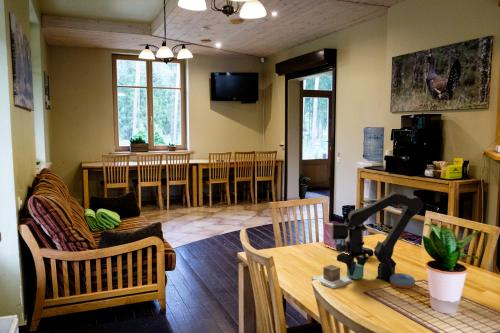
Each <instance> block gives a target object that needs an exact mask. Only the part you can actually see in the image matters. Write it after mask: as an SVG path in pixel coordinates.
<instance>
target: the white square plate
mask: <svg viewBox="0 0 500 333" xmlns="http://www.w3.org/2000/svg"><path fill="white" fill-rule="evenodd" d="M312 280H319V281H320V282H321V284H320V285H323V286H324V287H328V288H331V289H333V290H334V289H337V288H339V287H342V286H344V285H347V284H350V283H352V282H353V279H352V278H349V277H345V276H343V275H340V279H339V280H336V281H333V282H332V281H329V280H326V279H324V278H323V274H321V275H318V276H315V277H312V278H311V281H312Z"/></svg>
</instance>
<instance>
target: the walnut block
mask: <svg viewBox="0 0 500 333" xmlns="http://www.w3.org/2000/svg"><path fill="white" fill-rule="evenodd" d="M322 271H323V274H322V275H323V278H324V279H326V280H329V281H332V282H333V281H336V280H339V279H340V276H341V267H340V266H336V265H333V264H329V265H326V266H323V270H322Z"/></svg>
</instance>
